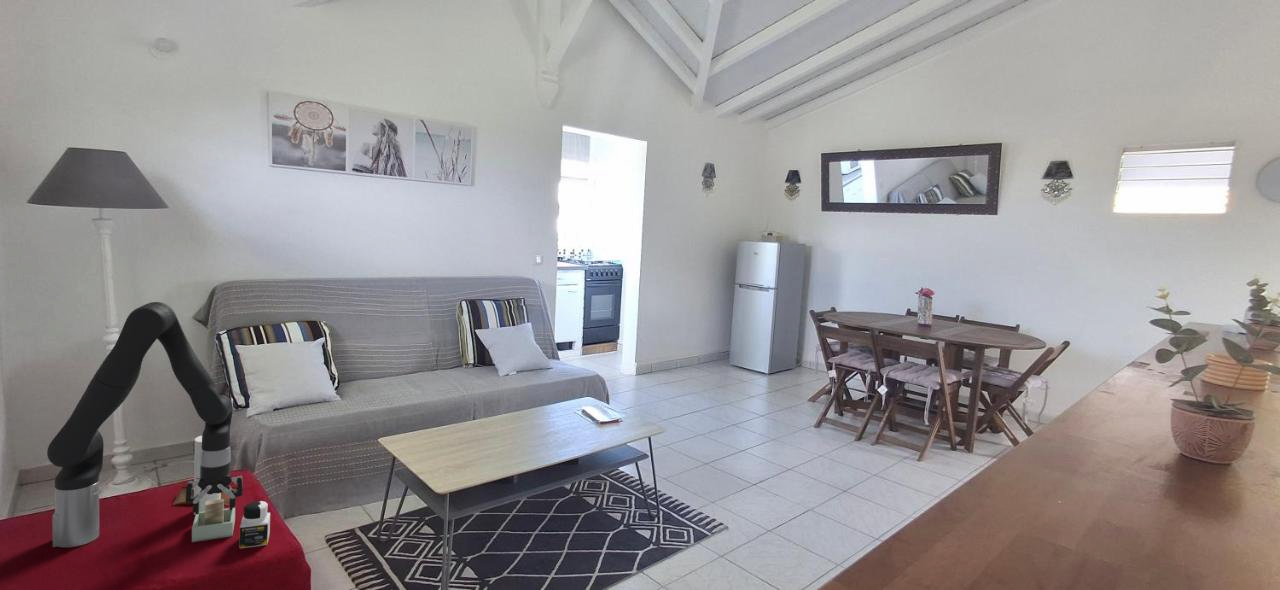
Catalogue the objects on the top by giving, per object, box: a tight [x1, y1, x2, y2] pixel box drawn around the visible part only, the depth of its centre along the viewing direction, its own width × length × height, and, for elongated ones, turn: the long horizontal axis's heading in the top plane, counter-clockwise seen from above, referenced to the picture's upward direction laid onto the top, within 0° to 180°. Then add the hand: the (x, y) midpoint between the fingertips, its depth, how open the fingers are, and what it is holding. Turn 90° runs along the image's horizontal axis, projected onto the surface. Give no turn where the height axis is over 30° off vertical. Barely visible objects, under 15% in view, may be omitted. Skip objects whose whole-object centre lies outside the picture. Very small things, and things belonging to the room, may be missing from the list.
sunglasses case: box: [172, 486, 238, 507], centre depth 200 cm, size 18×7×7 cm, turn 104°
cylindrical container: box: [193, 435, 221, 516], centre depth 192 cm, size 7×7×25 cm
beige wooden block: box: [205, 499, 225, 525], centre depth 182 cm, size 4×2×9 cm, turn 121°
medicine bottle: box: [238, 500, 271, 549], centre depth 179 cm, size 7×7×12 cm
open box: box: [191, 507, 236, 543], centre depth 182 cm, size 10×10×4 cm
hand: (214, 511), depth 182 cm, fingers open, 8 cm apart
